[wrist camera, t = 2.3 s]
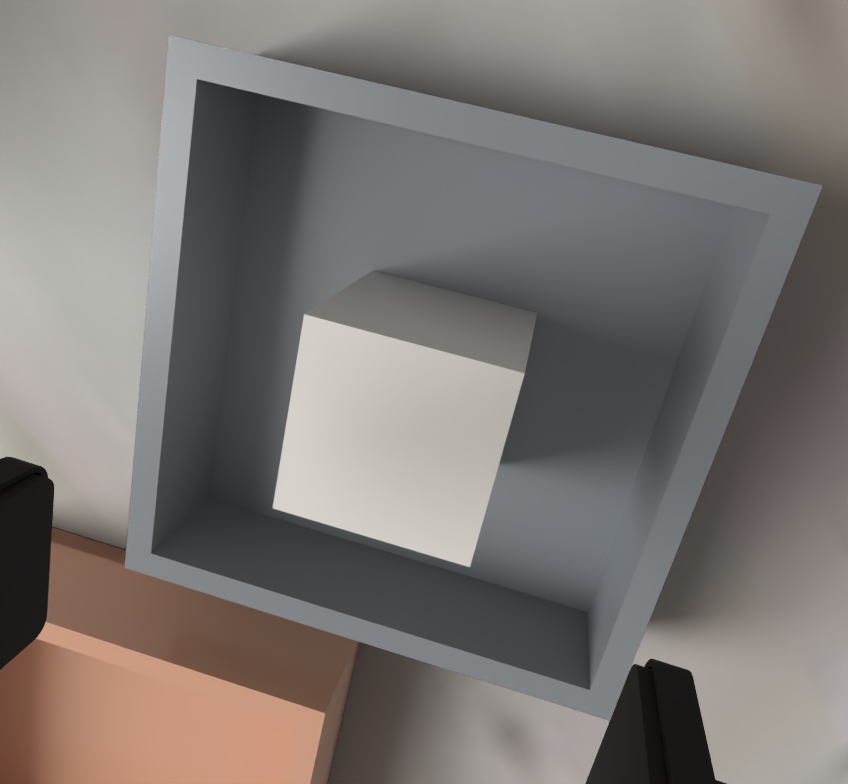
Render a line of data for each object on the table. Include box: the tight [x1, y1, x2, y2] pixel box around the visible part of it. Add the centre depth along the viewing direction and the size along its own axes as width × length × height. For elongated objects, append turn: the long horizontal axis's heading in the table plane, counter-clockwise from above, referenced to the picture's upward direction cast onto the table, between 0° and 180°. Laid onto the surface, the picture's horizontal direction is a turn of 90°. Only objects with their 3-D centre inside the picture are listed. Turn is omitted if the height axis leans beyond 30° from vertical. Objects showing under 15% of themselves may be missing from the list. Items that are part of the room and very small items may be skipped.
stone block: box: [273, 271, 537, 567], centre depth 20 cm, size 5×5×6 cm
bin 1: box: [0, 527, 360, 784], centre depth 28 cm, size 15×15×4 cm
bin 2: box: [125, 35, 823, 721], centre depth 21 cm, size 15×15×4 cm
